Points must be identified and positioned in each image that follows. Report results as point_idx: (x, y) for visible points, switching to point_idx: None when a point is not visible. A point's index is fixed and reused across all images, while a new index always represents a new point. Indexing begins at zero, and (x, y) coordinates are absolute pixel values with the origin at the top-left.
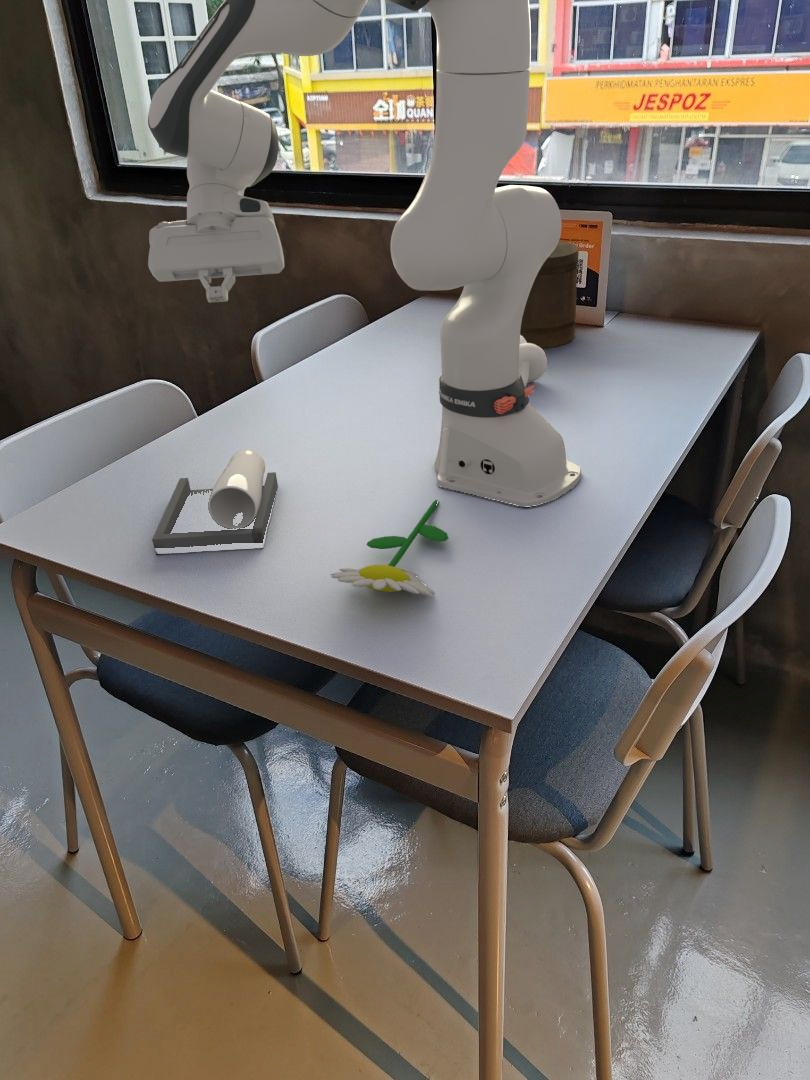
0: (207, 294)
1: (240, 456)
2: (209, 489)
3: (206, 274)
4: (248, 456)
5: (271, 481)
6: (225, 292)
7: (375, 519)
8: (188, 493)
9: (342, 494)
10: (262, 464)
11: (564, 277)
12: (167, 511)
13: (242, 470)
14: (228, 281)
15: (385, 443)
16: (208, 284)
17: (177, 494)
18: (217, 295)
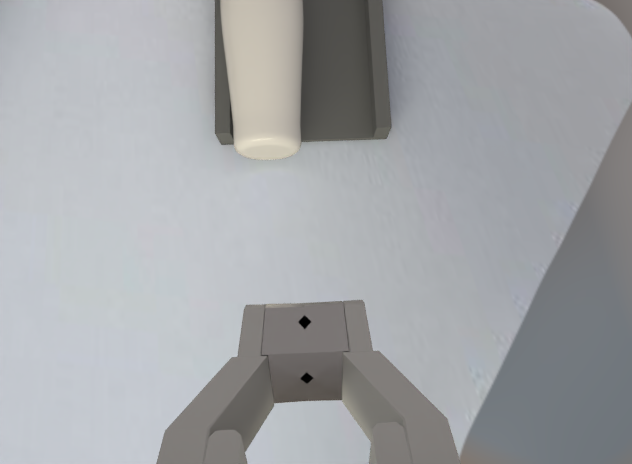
0: (356, 308)
1: (265, 96)
2: (339, 136)
3: (383, 437)
4: (250, 101)
5: (218, 99)
6: (243, 322)
7: (58, 32)
8: (372, 120)
9: (109, 110)
10: (233, 123)
11: None
12: (378, 17)
13: (245, 18)
14: (209, 385)
15: (24, 301)
16: (356, 363)
17: (378, 70)
18: (294, 306)
